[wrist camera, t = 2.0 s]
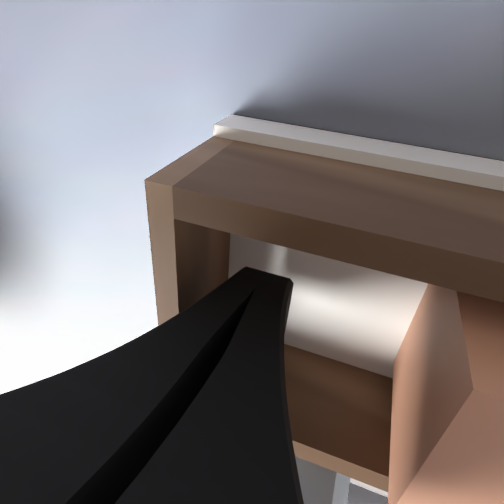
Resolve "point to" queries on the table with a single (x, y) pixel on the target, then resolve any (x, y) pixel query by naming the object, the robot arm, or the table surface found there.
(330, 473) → the white block
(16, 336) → the table surface
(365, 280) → the deck
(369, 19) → the table surface
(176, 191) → the walnut cubby
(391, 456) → the terracotta cube
